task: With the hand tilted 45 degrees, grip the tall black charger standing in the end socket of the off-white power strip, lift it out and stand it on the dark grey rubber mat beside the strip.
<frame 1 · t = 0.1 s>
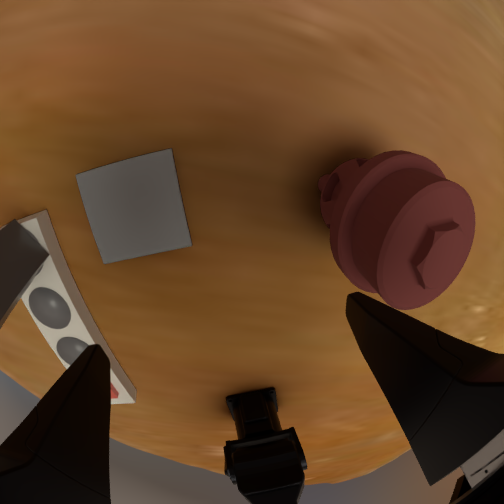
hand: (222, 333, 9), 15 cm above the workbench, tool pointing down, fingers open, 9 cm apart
mat: (133, 208, 21), on the workbench
mechanical component: (347, 193, 24), on the workbench
charger: (21, 253, 18), point 2 cm above the workbench, touching power strip
power strip: (71, 323, 25), on the workbench
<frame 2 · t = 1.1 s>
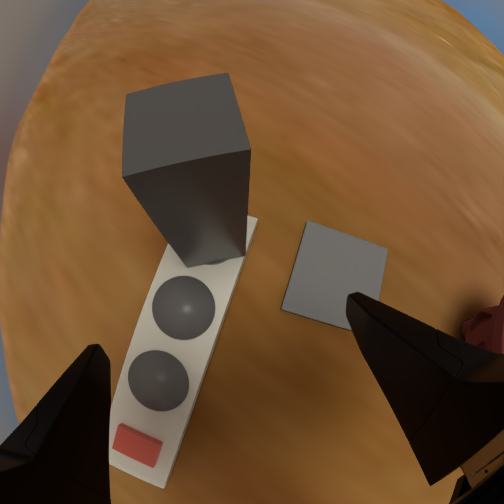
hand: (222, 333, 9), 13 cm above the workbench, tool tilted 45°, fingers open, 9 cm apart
mat: (338, 278, 24), on the workbench
mechanical component: (474, 342, 22), on the workbench
charger: (210, 234, 22), point 2 cm above the workbench, touching power strip
power strip: (174, 350, 22), on the workbench
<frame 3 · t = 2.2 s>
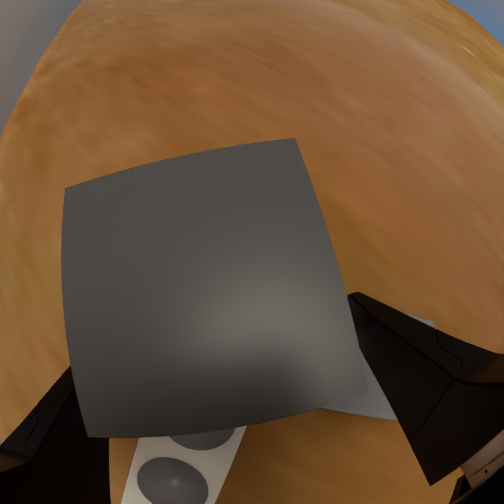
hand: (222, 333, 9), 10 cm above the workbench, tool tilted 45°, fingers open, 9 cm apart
mat: (379, 363, 18), on the workbench
charger: (228, 325, 17), point 2 cm above the workbench, touching power strip
power strip: (187, 449, 16), on the workbench
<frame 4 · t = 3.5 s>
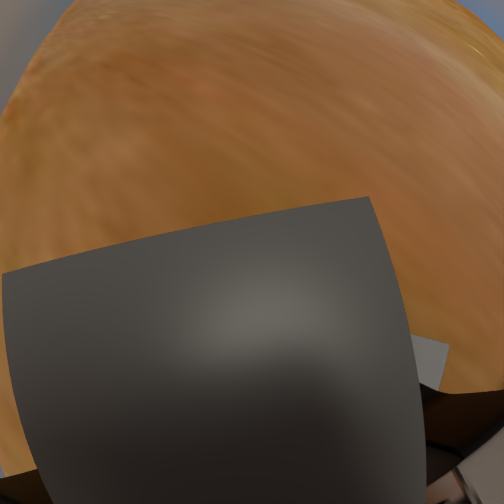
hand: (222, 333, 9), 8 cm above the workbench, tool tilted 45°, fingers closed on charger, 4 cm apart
mat: (393, 389, 16), on the workbench
charger: (235, 359, 15), point 2 cm above the workbench, touching gripper, power strip
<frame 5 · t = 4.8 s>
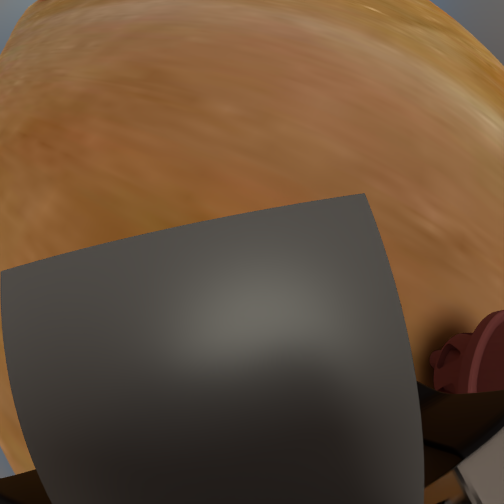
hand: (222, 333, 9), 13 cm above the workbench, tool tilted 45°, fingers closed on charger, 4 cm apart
mechanical component: (448, 368, 22), on the workbench
charger: (234, 358, 15), point 7 cm above the workbench, touching gripper
when the fingers open (7 cm above the workbench, at t = 6.4 s): charger drops 1 cm, resting on mat.
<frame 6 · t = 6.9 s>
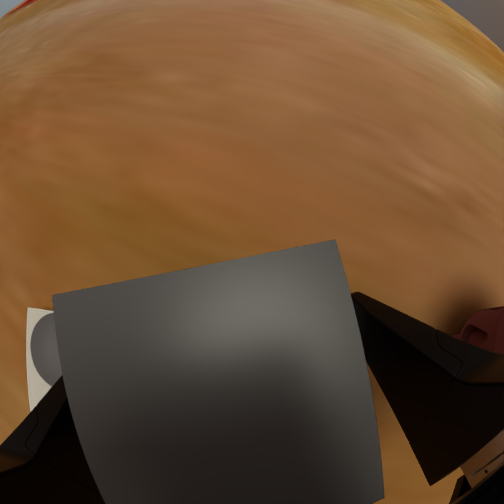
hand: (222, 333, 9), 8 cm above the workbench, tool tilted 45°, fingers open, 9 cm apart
mechanical component: (468, 356, 16), on the workbench
charger: (235, 357, 16), resting on mat
power strip: (86, 472, 13), on the workbench
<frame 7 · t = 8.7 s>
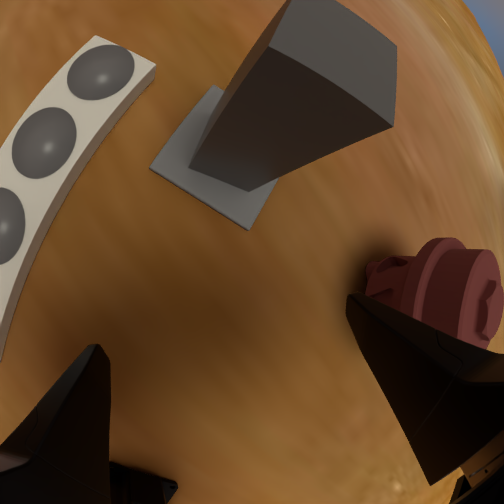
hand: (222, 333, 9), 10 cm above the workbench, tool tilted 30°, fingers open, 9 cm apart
mat: (228, 153, 19), on the workbench
mechanical component: (377, 292, 25), on the workbench
charger: (229, 151, 19), resting on mat
power strip: (25, 195, 14), on the workbench
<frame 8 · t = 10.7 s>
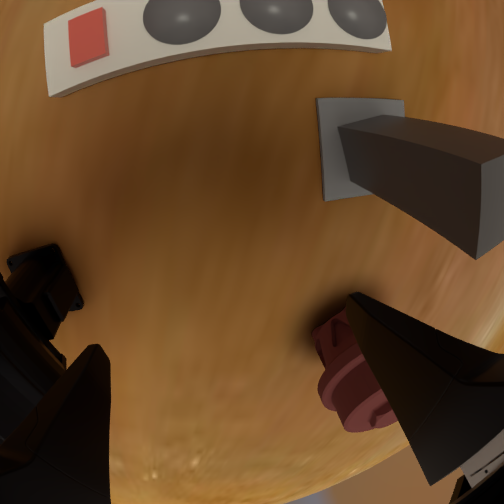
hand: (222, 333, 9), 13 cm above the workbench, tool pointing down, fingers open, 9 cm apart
mat: (365, 146, 20), on the workbench
mechanical component: (339, 322, 29), on the workbench
charger: (367, 146, 20), resting on mat
power strip: (219, 16, 14), on the workbench
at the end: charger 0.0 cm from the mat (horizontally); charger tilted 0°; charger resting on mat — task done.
